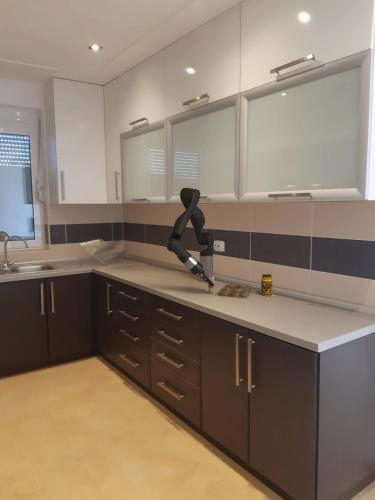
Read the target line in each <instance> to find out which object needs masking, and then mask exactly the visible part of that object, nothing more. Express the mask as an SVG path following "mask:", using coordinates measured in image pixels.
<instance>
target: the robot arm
mask: <svg viewBox="0 0 375 500" xmlns="http://www.w3.org/2000/svg"><path fill="white" fill-rule="evenodd" d="M179 198H180V202H181V204H182V205H183V207H184V209H185V210H184V212H182V213H181V214H180V215H179V216H178V217H177V218H176V220H175V221H174V225H173V227H172V229H171V233H170V235H169V237H168V240H167V242H166V244H165V245H166V249H167V250H168V252H169V253H170V252H172V253H174V255H176V257H177V259H178V260H179V262H181V263H182V264H183V265H184V267H186V269H187V270H189V271H190V272H191V273H192V275H194V276H195V275H197V274H198V281H199V282H205V283H207V285H208V284H209V285H210V286H211V287H213V286H214V287H215V282H214V283H213V282H212V281H211V280H210V279H209V278H208V276H214V239H215V236H214V235H215V234H214V232H212V231H203V230H202V229H203V228H204V226H205V224H206V217H205V214H204V212H203V211H202V209H201V208H199V207H198V204H199V203H200V200H199V199H201V191H200V190H199V189H197V188H192V187H183V188H182V189H181V190H180V191H179ZM189 221H190V224H191V226H192V229H193V231H194V234H195V238H196V241H197V244H198V245H199V246H206V247H207V248H205V249H202V250H200V251H199V259H197V258H196V257H195V256H193V255H192V254H191V253H190V252H189V251H188V250H187V249H186V247H185V246H184V245H183V244H182V243H181V240H182V238H183V236H184V234H185V231H186V228H187V225H188V223H189Z"/></svg>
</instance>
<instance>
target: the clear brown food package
mask: <svg viewBox="0 0 375 500" xmlns="http://www.w3.org/2000/svg"><path fill="white" fill-rule="evenodd" d="M252 288H253V287H252V285H242V284H241V285H239V284H225V285H223V287H221V288H220V289H219V297H228V298H238V299H239V298H243V299H247V298H248V297H249V295H251V294H252Z"/></svg>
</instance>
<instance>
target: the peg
mask: <svg viewBox="0 0 375 500" xmlns="http://www.w3.org/2000/svg"><path fill="white" fill-rule="evenodd" d="M208 278H209V279H210V280H211V281H212V282H213V283H214V284H215V276H214V275H213V276H208ZM207 287H208V294H209V295H213V294H214V291H215V285H214V286H213V287H211V286H210V285H209V284H208V283H207Z"/></svg>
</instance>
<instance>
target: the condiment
mask: <svg viewBox="0 0 375 500" xmlns="http://www.w3.org/2000/svg"><path fill="white" fill-rule="evenodd" d="M272 276H273V275H272V274H270V273H263V274H262V276H261V282H260V283H261V286H260V287H261V290H260V291H261V293H258V296H261V297H263V298H267V297H270V298H271V297H275V296H276V295H275V294H273V277H272Z"/></svg>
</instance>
